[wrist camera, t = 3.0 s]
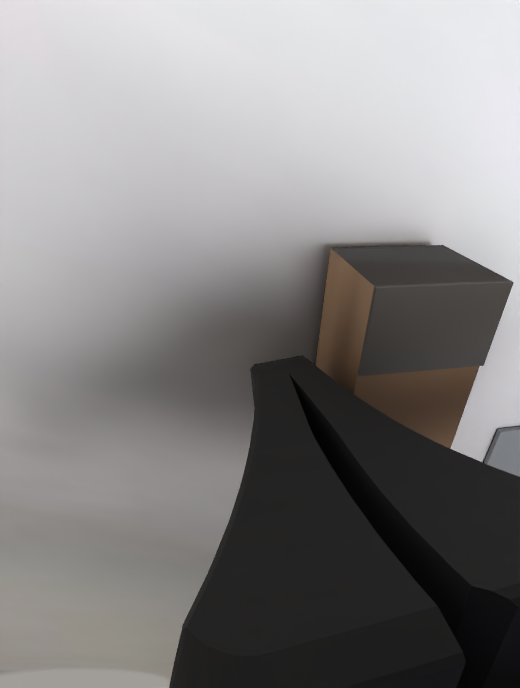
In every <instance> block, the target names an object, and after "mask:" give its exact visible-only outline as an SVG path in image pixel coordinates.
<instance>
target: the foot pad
mask: <svg viewBox="0 0 520 688" xmlns="http://www.w3.org/2000/svg"><path fill="white" fill-rule="evenodd" d="M484 463H485V464H487V465H490V466H492V467H495V468H497V469H500V470H503V471H505V472H508V473H511V474H514V475H516V476H519V477H520V426H519V427H511V428H503V429H498V430H497V432H496V435H495V437H494V439H493V442H492V444H491V447H490V449H489V451H488V454H487V456H486V459H485V461H484Z"/></svg>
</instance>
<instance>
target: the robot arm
mask: <svg viewBox="0 0 520 688" xmlns="http://www.w3.org/2000/svg"><path fill="white" fill-rule="evenodd" d="M250 370H251V379H252V388H253V397H254V406H255V409H254V422H253V429H252V435H251V442H250V448H249V453H248V458H247V462H246V466H245V470H244V474H243V478H242V482H241V485H240V489H239V492H238V495H237V498H236V502H235V505H234V508H233V511H232V514H231V517H230V520H229V522H228V525H227V528H226V530H225V533H224V535H223V538H222V540H221V543H220V545H219V548H218V550H217V553H216V555H215V558H214V560H213V563H212V565H211V567H210V569H209V572H208V574H207V576H206V578H205V580H204V582H203V584H202V586H201V588H200V590H199V592H198V595H197V597H196V599H195V601H194V603H193V605H192V607H191V609H190V611H189V613H188V615H187V617H186V619H185V621H184V624H183V627H182V632H181V636H180V640H179V645H178V649H177V653H176V657H175V662H174V667H173V672H172V676H171V681H170V687H169V688H520V477H519V476H516V475H514V474H511V473H508V472H505V471H503V470H500V469H497V468H495V467H492V466H490V465H487V464H485V463H482V462H480V461H477V460H475V459H473V458H470V457H468V456H466V455H463V454H461V453H459V452H456V451H454V450H452V449H449V448H447V447H445V446H443V445H441V444H439V443H437V442H435V441H433V440H431V439H429V438H427V437H425V436H423V435H421V434H419V433H417V432H415V431H413V430H411V429H409V428H407V427H406V426H404V425H402V424H400V423H398V422H397V421H395V420H393V419H392V418H390V417H388V416H387V415H385V414H383V413H382V412H380V411H379V410H377V409H375V408H374V407H372V406H371V405H369V404H368V403H366V402H364V401H363V400H361V399H360V398H359V397H357V396H356V395H354V394H353V393H351V392H350V391H349V390H347V389H346V388H344V387H343V386H342V385H340V384H339V383H338V382H336V381H335V380H334V379H332V378H331V377H330V376H328V375H327V374H326V373H325V372H323V371H322V370H321V369H319V368H318V367H317V366H316V365H314V364H313V363H312V362H310V361H309V360H308V359H306V358H305V357H304V356H297V357H292V358H287V359H281V360H276V361H270V362H265V363H259V364H254V366H253V367H252V368H251V369H250Z"/></svg>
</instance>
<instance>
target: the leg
mask: <svg viewBox="0 0 520 688" xmlns="http://www.w3.org/2000/svg"><path fill="white" fill-rule="evenodd" d="M512 285H513V282H512V281H510V280H508V279H506V278H505V277H503V276H501V275H499V274H497V273H495V272H493V271H491V270H489V269H487V268H485V267H484V266H482V265H480V264H478V263H476V262H474V261H472V260H470V259H468V258H466V257H464V256H463V255H461V254H459V253H457V252H455V251H453V250H451V249H449V248H447V247H445V246H444V245H433V246H388V247H342V248H330V256H329V264H328V271H327V279H326V287H325V295H324V303H323V310H322V318H321V326H320V334H319V342H318V349H317V357H316V366H317V367H318V368H319V369H321V370H322V371H323V372H325V373H326V374H327V375H328V376H330V377H331V378H332V379H334V380H335V381H336V382H338V383H339V384H340V385H342V386H343V387H344V388H346V389H347V390H349V391H350V392H351V393H353V394H354V395H356V396H357V397H359V398H360V399H361V400H363V401H364V402H366V403H368V404H369V405H371V406H372V407H374V408H375V409H377V410H379V411H380V412H382V413H383V414H385V415H387V416H388V417H390V418H392V419H393V420H395V421H397V422H398V423H400V424H402V425H404V426H406V427H407V428H409V429H411V430H413V431H415V432H417V433H419V434H421V435H423V436H425V437H427V438H429V439H431V440H433V441H435V442H437V443H439V444H441V445H443V446H445V447H447V448H449V449H450V448H451V445H452V442H453V439H454V436H455V434H456V431H457V428H458V425H459V422H460V420H461V417H462V414H463V411H464V408H465V405H466V403H467V400H468V397H469V394H470V391H471V389H472V386H473V383H474V380H475V377H476V375H477V372H478V369H479V366H483V365H484V363H485V360H486V357H487V354H488V352H489V349H490V346H491V343H492V341H493V338H494V335H495V332H496V329H497V327H498V324H499V321H500V318H501V316H502V313H503V310H504V307H505V305H506V302H507V299H508V296H509V294H510V291H511V288H512Z"/></svg>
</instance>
